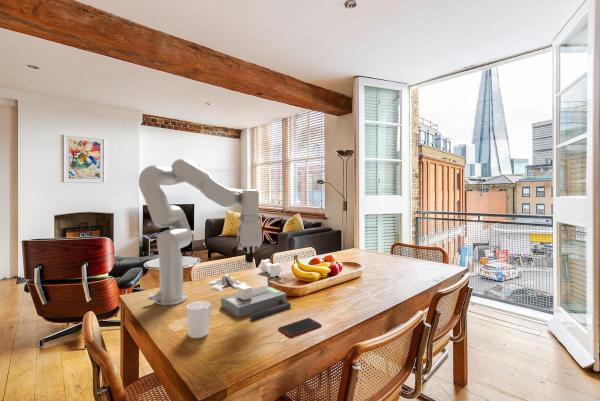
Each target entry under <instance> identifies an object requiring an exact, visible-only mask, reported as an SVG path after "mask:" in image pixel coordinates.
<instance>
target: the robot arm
mask: <svg viewBox="0 0 600 401" xmlns="http://www.w3.org/2000/svg"><path fill="white" fill-rule="evenodd" d="M212 177H213V176H212V174H211V172H209V171H207V170H205V169H203V168H201V167H200V164H199V163H197V161H196V160H190V159H186V158H179V159H176V160H175V161H173V162H172V164H171V166H165V165H164V166H163V165H157V164H156V165H149V166H146V167H145V168H144V169H143V170H142V171H141V172H140V174H139V179H138V187H139V189H140V193H141V194H142V196H143V198H144V201H145V203H146V206H147V209H148V212H149V215H150V218H151V220H152V223H153V224H154V226H155V227H157V228H161V229H163V228H168V229H165V230H164V231H162V232H161V233H159V235H158V237H157V239H156V246H157V251H158V258H159V259H158V260H159V261H158V262H159V263H158V265H159V267H158V268H159V290H157V293H154V294H150V295H147V297H146V298H147V301H155V303H156V304H157V305H158V306H159V305H160V306H174V305H179V304H181V303H183V302H185V301H186V300H187V297H188V296H187V294H186V293H184V262H183V259H184V258H183V254H182V252H181V249H182V248H185V247H187V246H189V245H190V244H191V243H192V239H193V233H192V230H191V227H190V225H189V222H188V219H187V216H186V213H185V212H184V209H182V208H181V207H180V206H177V205H174V204H172V205H171V204H170V203H169V201H168V198H167V195H166V194H165V192H164V190H163V189H162V188H161V186H174V185H177V184H181V183H187V184H189V185H191V187H193V188H195V189H197V190H199V191H200V193H202V195H203V196H205V198H207V199H209V200H211V201H212V202H214V203H215V204H217V205H219V206H221V207H222V208H223V207H225V208H230V207H232V208H233V207H239V206H240V214H239V216H238V217H237V219H238V221H240V222H239V223H238V228H237V235H236V243H237V250H240V251H243V253H244V261H245V262H246V263H248V264H249V263H250V264H251V263H254V253H255V252H256V250H257V249H258V248H260V247H261V245H262V244H263V229H262V224H261V223H262V222H261V221H259V219H260V218H259V217H260V216H259V215H260V213H259V212H260V211H259V209H260V193H259V191H258V190H257V189H240V188H228V187H226V186H224V185H222V184H220V183H219V182H217V181H216V180H214V178H212Z"/></svg>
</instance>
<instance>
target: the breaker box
mask: <svg viewBox="0 0 600 401" xmlns="http://www.w3.org/2000/svg"><path fill="white" fill-rule="evenodd" d="M280 300H284V301H287V293H285V292H283V291H282V290H278V289H276V288H274V287H271V286H269V285H264V286H261V287H257V288H252V298H250V299H246V300H242V299H240V298H238V297H237V293H235V294H231V295H226V296H223V297H221V298H220V304H221V305H220V307H221V308H223V309H224V310H226V312H229V313H230V314H232V315H233V316H235V317H237V318H242V317H244V316H248V315H252V314H255V313H258V312H261V311H264V310H267V309H270V308H273V307H276V306H279V305H281V304H280V303H279V302H280Z"/></svg>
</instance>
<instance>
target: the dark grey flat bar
mask: <svg viewBox="0 0 600 401" xmlns="http://www.w3.org/2000/svg"><path fill="white" fill-rule="evenodd" d="M279 303H280V304H279V305H276V306H273V307H270V308H267V309H264V310H261V311H258V312H255V313H251V314H249V320H252V321H253V320H256V319H260V318H264V317H265V316H268V315H272V314H275V313H277V312H281V311H283V310H286V309H288V308H291V307H292V305H291V303H290V302H288V301H287V300H286V301H284V300H280V302H279Z"/></svg>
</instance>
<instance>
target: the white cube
mask: <svg viewBox="0 0 600 401" xmlns="http://www.w3.org/2000/svg"><path fill="white" fill-rule="evenodd" d="M236 290H237V292H236V294H237V297H238V298H240V299H242V300H246V299H250V298H252V290H253V286H250V285H247V283H246V284H245V285H241V286H237V288H236Z"/></svg>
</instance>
